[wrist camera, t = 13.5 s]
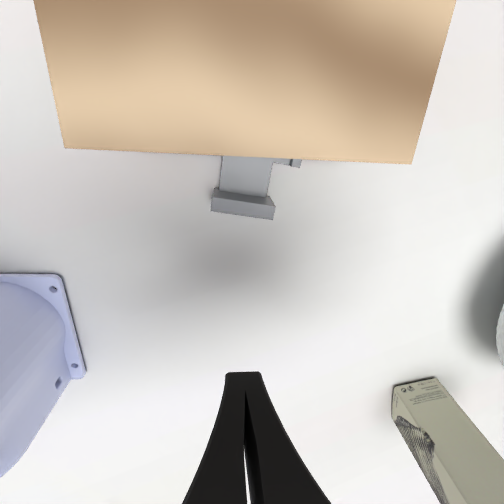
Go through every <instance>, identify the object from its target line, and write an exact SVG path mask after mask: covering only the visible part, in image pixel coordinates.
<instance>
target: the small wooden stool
mask: <svg viewBox="0 0 504 504" xmlns="http://www.w3.org/2000/svg"><path fill="white" fill-rule="evenodd" d="M455 4H456V0H34V5H35V10H36V14H37V19H38V24H39V29H40V33H41V38H42V43H43V48H44V52H45V57H46V62H47V67H48V71H49V76H50V81H51V86H52V90H53V95H54V100H55V105H56V109H57V114H58V119H59V124H60V128H61V133H62V138H63V143H64V147H65V148H73V149H94V150H115V151H137V152H158V153H179V154H200V155H222V156H243V157H264V158H286V159H307V160H328V161H350V162H371V163H392V164H412V160H413V156H414V153H415V149H416V146H417V142H418V138H419V135H420V131H421V127H422V124H423V120H424V116H425V113H426V109H427V105H428V102H429V98H430V95H431V91H432V87H433V84H434V80H435V76H436V73H437V69H438V65H439V62H440V58H441V55H442V51H443V47H444V44H445V40H446V36H447V33H448V29H449V25H450V22H451V18H452V14H453V11H454V7H455Z"/></svg>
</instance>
